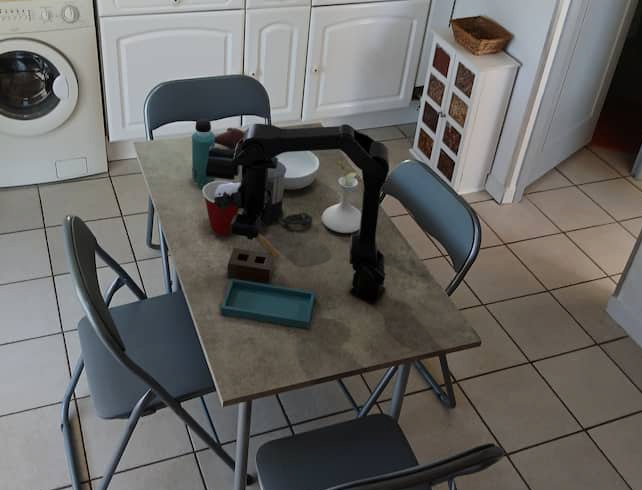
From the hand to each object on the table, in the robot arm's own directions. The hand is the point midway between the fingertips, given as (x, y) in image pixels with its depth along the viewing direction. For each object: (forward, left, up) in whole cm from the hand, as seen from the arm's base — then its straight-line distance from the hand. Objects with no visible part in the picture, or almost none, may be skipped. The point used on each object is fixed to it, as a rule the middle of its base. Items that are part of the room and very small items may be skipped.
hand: (250, 236), depth 170 cm
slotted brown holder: (+1, -2, -13) cm, 13 cm away
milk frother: (+8, -25, -13) cm, 29 cm away
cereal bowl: (+16, -41, -13) cm, 46 cm away
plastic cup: (+17, -12, -13) cm, 25 cm away
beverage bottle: (+34, -25, -13) cm, 44 cm away
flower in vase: (-6, -34, -13) cm, 37 cm away
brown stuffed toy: (+39, -45, -13) cm, 61 cm away
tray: (-9, +5, -13) cm, 17 cm away
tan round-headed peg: (-6, -3, -5) cm, 8 cm away
